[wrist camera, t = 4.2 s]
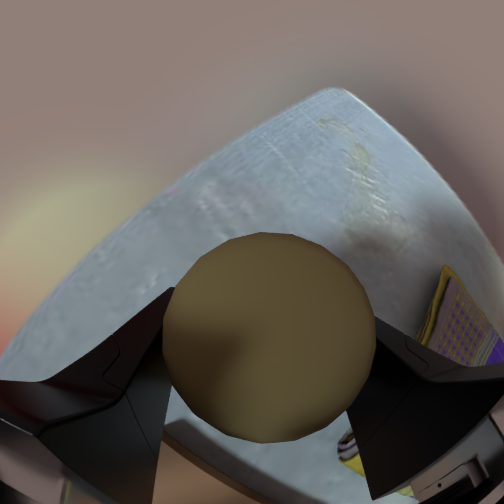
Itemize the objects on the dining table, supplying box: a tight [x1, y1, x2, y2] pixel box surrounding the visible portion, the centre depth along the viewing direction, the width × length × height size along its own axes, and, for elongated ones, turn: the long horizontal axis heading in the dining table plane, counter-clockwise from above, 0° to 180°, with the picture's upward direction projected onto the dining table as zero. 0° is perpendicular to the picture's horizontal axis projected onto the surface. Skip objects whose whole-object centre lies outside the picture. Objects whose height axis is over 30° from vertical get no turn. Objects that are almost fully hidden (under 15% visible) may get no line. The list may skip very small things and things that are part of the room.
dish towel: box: [337, 265, 504, 498], centre depth 14 cm, size 18×24×3 cm
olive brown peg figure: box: [162, 232, 376, 444], centre depth 10 cm, size 6×6×11 cm
